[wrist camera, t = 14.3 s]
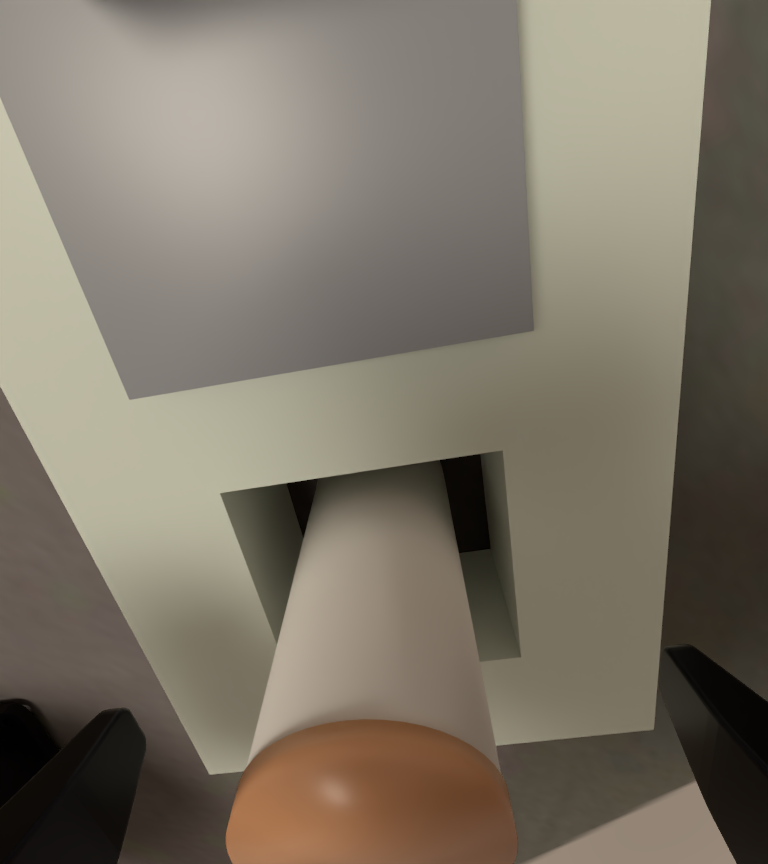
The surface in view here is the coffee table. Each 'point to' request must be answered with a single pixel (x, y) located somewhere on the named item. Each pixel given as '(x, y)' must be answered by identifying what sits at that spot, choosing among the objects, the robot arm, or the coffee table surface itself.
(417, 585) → the plug
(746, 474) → the coffee table surface
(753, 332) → the coffee table surface
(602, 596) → the socket block
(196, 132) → the shutter
